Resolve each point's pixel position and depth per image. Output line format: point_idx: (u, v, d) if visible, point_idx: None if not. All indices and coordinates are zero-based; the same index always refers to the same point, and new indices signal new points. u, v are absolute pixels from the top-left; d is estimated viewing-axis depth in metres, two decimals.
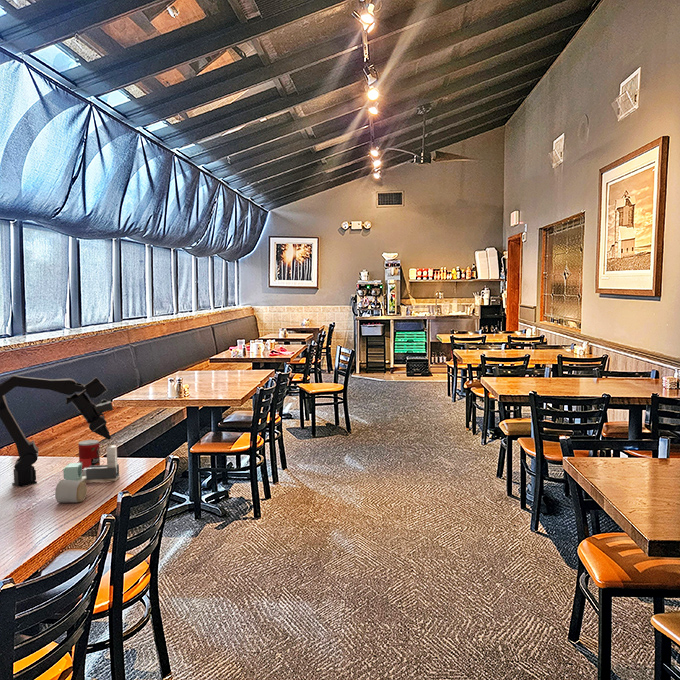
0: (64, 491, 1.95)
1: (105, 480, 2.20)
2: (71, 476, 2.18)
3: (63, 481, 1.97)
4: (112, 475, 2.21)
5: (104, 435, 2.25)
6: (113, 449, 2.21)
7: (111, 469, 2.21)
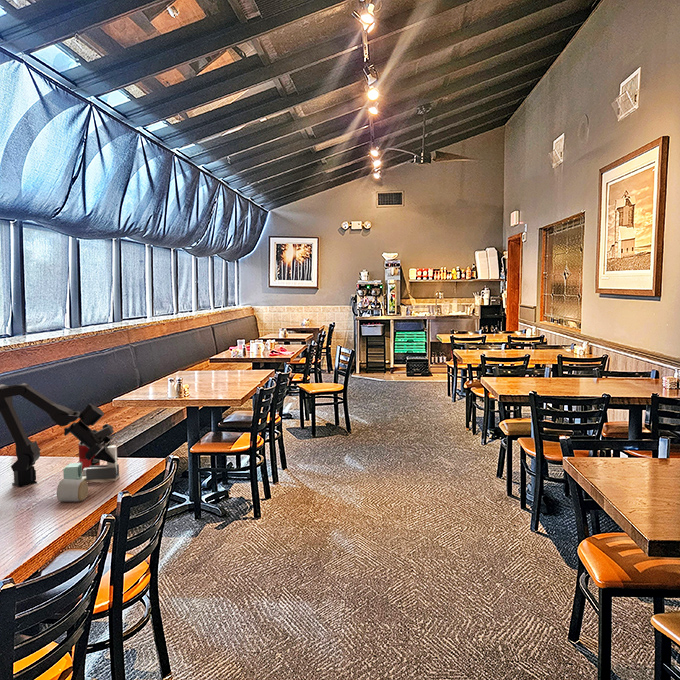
0: (65, 490, 1.96)
1: (105, 480, 2.20)
2: (71, 476, 2.18)
3: (64, 480, 1.98)
4: (112, 475, 2.21)
5: (107, 460, 2.20)
6: (113, 449, 2.21)
7: (111, 469, 2.21)
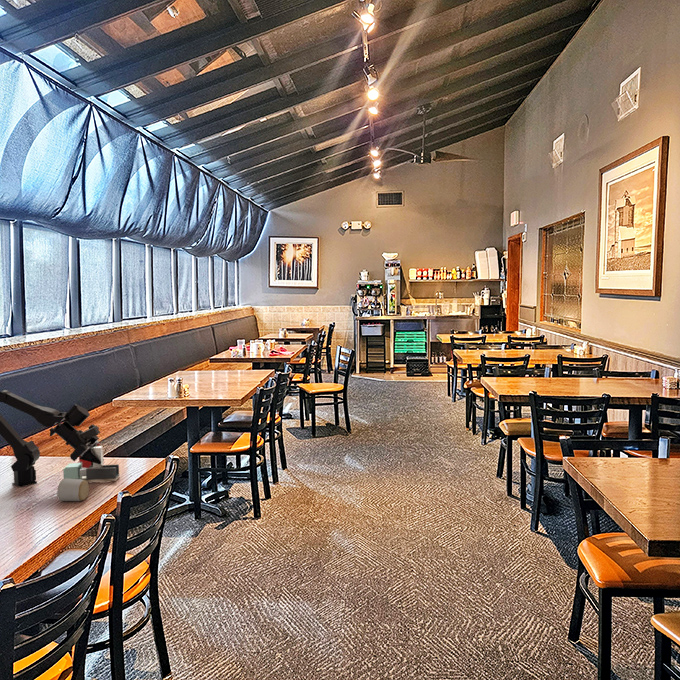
0: (66, 490, 1.96)
1: (105, 480, 2.20)
2: (71, 476, 2.18)
3: (65, 480, 1.99)
4: (112, 475, 2.21)
5: (93, 460, 2.19)
6: (99, 450, 2.21)
7: (111, 469, 2.21)
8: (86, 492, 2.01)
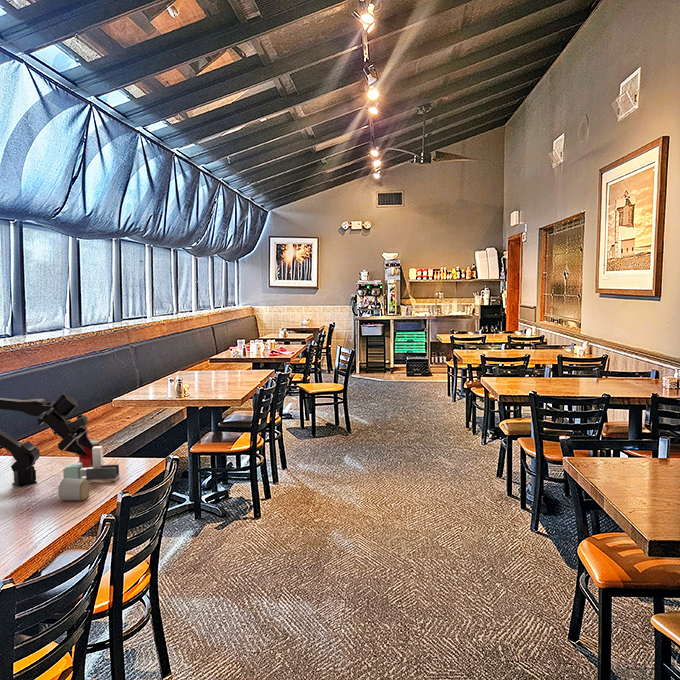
0: (67, 489, 1.97)
1: (105, 480, 2.20)
2: (71, 476, 2.18)
3: (66, 479, 1.99)
4: (112, 475, 2.21)
5: (79, 452, 2.16)
6: (99, 450, 2.21)
7: (111, 469, 2.21)
8: (87, 491, 2.02)
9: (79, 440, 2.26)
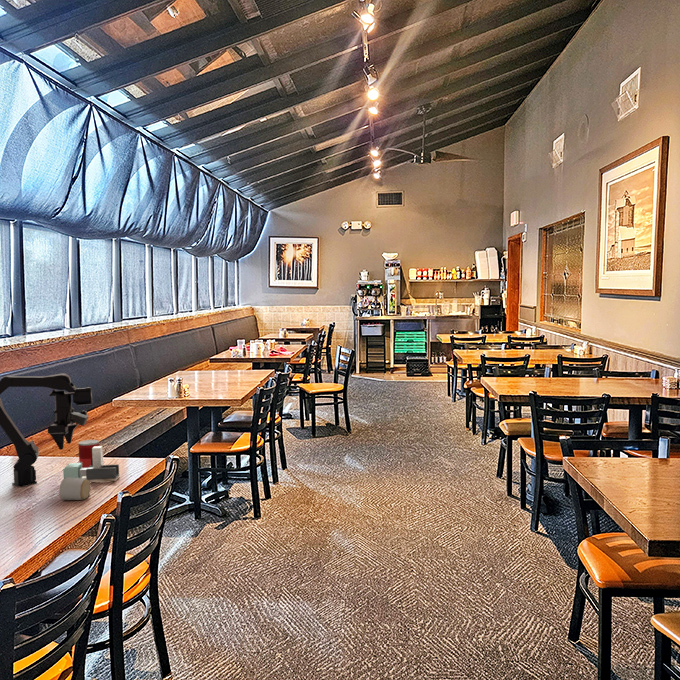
0: (68, 489, 1.98)
1: (105, 480, 2.20)
2: (71, 476, 2.18)
3: (67, 479, 2.00)
4: (112, 475, 2.21)
5: (58, 443, 2.18)
6: (99, 450, 2.21)
7: (111, 469, 2.21)
8: (88, 491, 2.02)
9: None
